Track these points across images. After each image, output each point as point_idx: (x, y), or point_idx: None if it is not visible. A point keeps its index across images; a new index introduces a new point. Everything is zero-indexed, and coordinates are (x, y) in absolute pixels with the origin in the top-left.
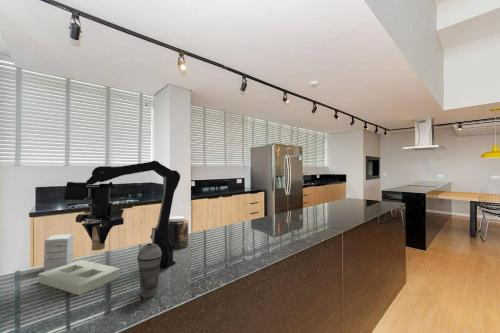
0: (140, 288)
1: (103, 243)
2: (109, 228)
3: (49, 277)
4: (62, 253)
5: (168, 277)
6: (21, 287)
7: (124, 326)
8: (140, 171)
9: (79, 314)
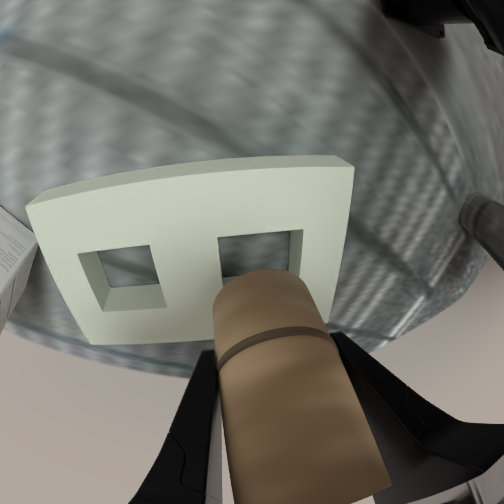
0: (472, 235)
1: (340, 336)
2: (453, 434)
3: (151, 341)
4: (3, 302)
5: (479, 109)
6: (104, 346)
7: (463, 294)
8: None
9: (385, 323)
